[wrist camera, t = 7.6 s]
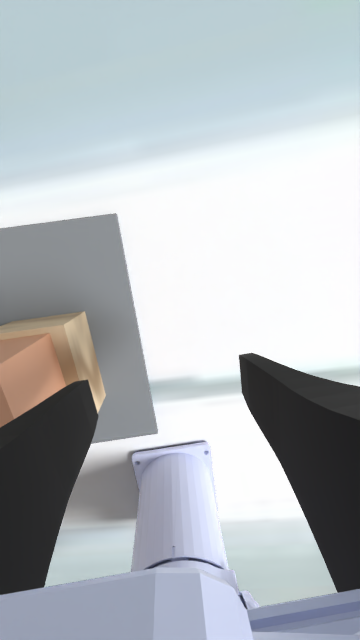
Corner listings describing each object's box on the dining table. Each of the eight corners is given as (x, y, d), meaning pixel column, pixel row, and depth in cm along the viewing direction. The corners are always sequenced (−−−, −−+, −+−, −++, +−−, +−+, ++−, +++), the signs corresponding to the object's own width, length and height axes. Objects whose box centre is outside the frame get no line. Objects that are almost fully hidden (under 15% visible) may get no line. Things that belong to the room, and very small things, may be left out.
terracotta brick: (77, 421, 17) (41, 487, 12) (23, 430, 17) (-36, 499, 12) (49, 332, 15) (-6, 367, 10) (-12, 342, 15) (-97, 381, 10)
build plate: (157, 430, 23) (157, 433, 22) (-4, 455, 22) (-7, 458, 22) (116, 214, 17) (115, 213, 17) (-96, 242, 17) (-102, 241, 17)
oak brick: (105, 395, 21) (92, 426, 17) (40, 405, 21) (11, 438, 17) (84, 311, 19) (63, 324, 15) (11, 321, 19) (-29, 337, 15)
